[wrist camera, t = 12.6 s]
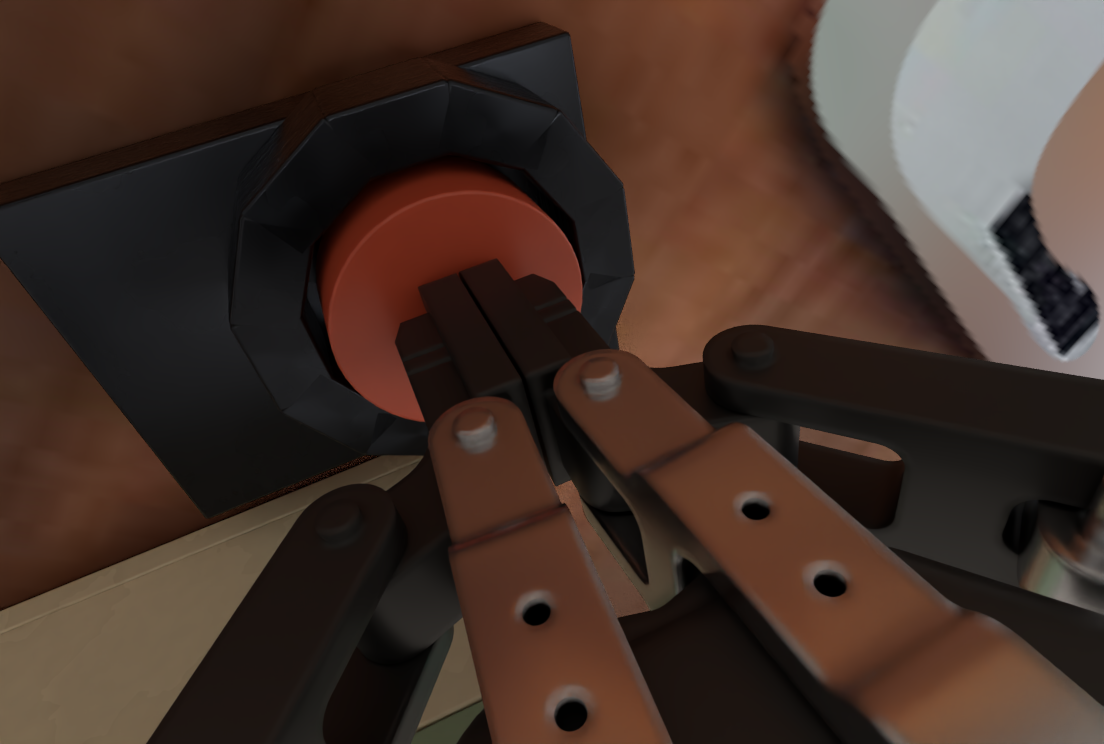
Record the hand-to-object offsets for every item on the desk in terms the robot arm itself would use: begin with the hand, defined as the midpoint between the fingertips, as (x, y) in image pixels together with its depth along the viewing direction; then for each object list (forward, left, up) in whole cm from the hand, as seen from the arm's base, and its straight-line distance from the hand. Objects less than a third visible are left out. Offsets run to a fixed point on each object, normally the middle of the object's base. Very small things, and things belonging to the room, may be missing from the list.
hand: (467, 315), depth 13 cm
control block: (-2, -1, -4) cm, 5 cm away
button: (0, 0, -2) cm, 2 cm away
